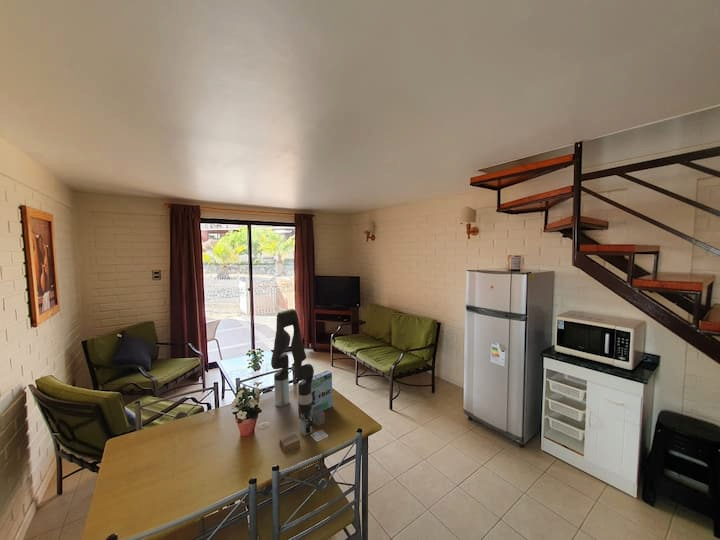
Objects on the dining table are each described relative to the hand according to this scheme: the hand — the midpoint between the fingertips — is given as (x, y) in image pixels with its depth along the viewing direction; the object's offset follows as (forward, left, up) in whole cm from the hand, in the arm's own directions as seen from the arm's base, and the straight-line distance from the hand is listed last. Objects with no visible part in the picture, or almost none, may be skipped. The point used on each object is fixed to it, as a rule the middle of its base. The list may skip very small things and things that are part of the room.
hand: (305, 430), depth 160 cm
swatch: (+8, +4, -1) cm, 9 cm away
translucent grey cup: (-3, +10, -1) cm, 10 cm away
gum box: (-14, +16, -1) cm, 21 cm away
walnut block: (+5, -12, -1) cm, 13 cm away
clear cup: (0, 0, -1) cm, 1 cm away
